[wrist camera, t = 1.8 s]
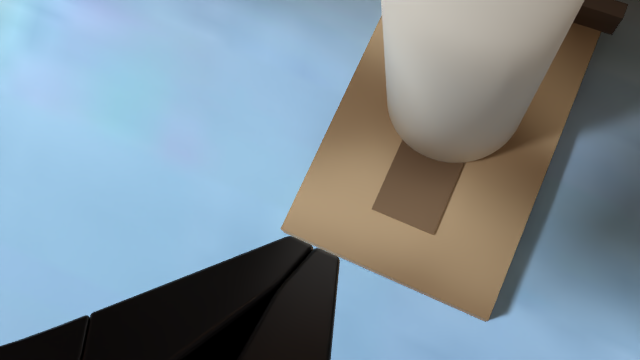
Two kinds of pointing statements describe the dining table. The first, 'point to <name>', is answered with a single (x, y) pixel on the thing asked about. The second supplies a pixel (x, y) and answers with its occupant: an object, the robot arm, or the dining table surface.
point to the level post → (467, 69)
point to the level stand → (437, 182)
